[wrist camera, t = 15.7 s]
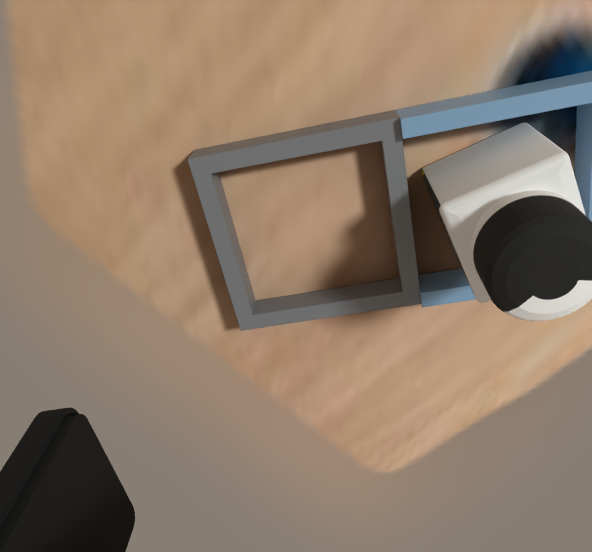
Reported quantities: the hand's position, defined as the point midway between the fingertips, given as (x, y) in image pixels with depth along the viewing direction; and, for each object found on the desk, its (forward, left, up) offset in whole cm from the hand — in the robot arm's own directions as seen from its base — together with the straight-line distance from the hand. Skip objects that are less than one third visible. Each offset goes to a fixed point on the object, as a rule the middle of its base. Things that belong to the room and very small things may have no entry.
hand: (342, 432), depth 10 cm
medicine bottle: (+8, +10, -28) cm, 31 cm away
